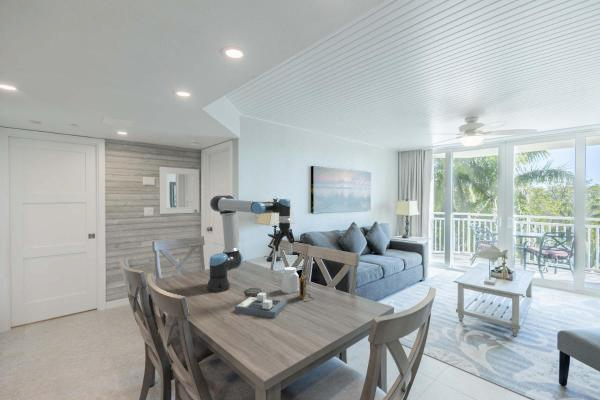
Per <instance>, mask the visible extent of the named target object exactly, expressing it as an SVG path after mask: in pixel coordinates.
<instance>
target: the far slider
mask: <svg viewBox="0 0 600 400" xmlns="http://www.w3.org/2000/svg"><path fill="white" fill-rule="evenodd" d="M256 298H257V301H264V300H266V299H267V293H266V292H258V294H257V295H256Z"/></svg>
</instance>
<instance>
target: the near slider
mask: <svg viewBox="0 0 600 400" xmlns="http://www.w3.org/2000/svg"><path fill="white" fill-rule="evenodd" d="M267 299H268V298H266V300H264V301H263V302H262V308H263V309H270V308H271V307H272V300H273V299H271V300H267Z"/></svg>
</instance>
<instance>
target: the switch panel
mask: <svg viewBox="0 0 600 400" xmlns="http://www.w3.org/2000/svg"><path fill="white" fill-rule="evenodd" d="M266 299H267V300H272V307H271V308H270V309H263V308H262V302H263V301H257V296H256V297H255V296H249V297H248V296H247V298H245V299H244V300H242V301H241V302H240V303H238V304H236V305H235V307H234V312H235V313H240V314H241V313H242V314H245V315H246V314H249V315H253V316H254V315H255V316H260V317H265V318H266V317H267V318H274V319H276V317H277V316H279V314H280V313H282V311H284V309H286V307H287V301H284V300H278V299H270V298H266Z"/></svg>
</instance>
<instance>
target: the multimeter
mask: <svg viewBox="0 0 600 400" xmlns="http://www.w3.org/2000/svg"><path fill="white" fill-rule="evenodd" d="M303 266H304V267H303ZM300 269H301V270H303V271H302V274H301V275H300V278H299V299H300V300H302V301H303V302H305V303H306V302H310V301H312V300H315V297H312V296H311V294H310V293H307V275H305V265H303V264H302V267H300ZM307 295H308V297H310V298H311V299H307V301H306V300H304V299H305V298H306V296H307Z"/></svg>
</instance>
